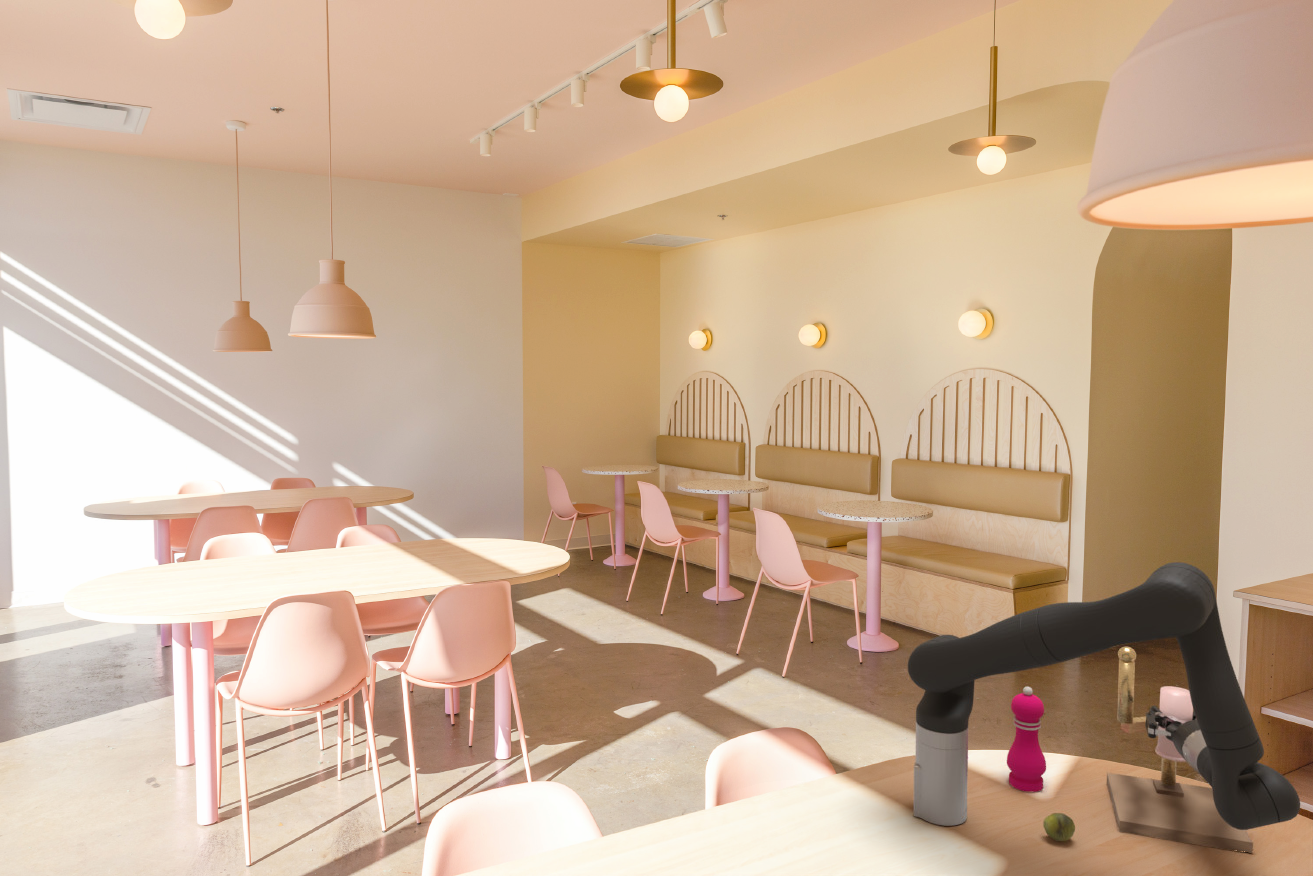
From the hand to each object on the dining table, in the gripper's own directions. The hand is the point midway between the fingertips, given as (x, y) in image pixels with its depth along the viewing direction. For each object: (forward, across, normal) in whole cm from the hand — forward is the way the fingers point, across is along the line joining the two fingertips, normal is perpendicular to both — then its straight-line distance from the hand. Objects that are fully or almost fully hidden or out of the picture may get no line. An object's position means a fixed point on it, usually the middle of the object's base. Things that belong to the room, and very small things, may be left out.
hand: (1170, 712), depth 158 cm
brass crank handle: (+2, +2, +15) cm, 15 cm away
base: (-3, 0, +18) cm, 19 cm away
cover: (-3, 0, +7) cm, 7 cm away
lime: (-16, +22, +19) cm, 33 cm away
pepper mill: (+5, +24, +19) cm, 31 cm away
